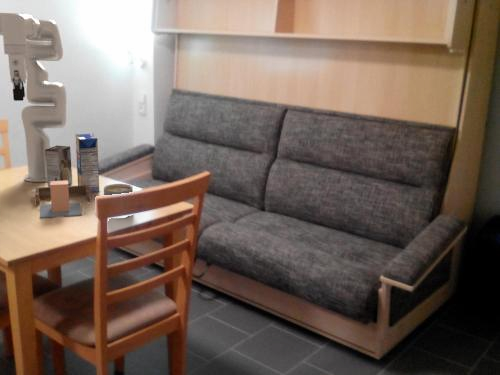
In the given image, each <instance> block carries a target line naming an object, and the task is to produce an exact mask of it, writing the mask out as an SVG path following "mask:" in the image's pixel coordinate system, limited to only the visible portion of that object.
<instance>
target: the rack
mask: <svg viewBox="0 0 500 375" xmlns="http://www.w3.org/2000/svg"><path fill="white" fill-rule="evenodd" d="M68 190H69V198H70V197H71V198H72V197H86V199H85V200H86V203H91V193H90V190H89V185H83V186H78V185H68ZM34 197H35V205H36V206H40V205H41V204H40V203H41V202H40V201H41V199H51V190H50V187H48V186H47V187H46V186H45V187H35V193H34Z"/></svg>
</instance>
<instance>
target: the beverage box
mask: <svg viewBox="0 0 500 375" xmlns="http://www.w3.org/2000/svg"><path fill="white" fill-rule="evenodd" d="M98 147H99V146H98V138H97V137H96V135H95V134H94V133H82V134H81V133H80V134H79V133H78V134H77V133H75V150H76V151H75V152H76V153H75V154H76V155H75V156H76V173H77V186H83V185H89V190H90V194H91V193H93V194H94V193H100V176H99V175H100V174H99V171H100V170H99V152H98V151H99V149H98Z"/></svg>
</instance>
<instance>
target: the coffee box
mask: <svg viewBox="0 0 500 375" xmlns="http://www.w3.org/2000/svg"><path fill="white" fill-rule="evenodd" d="M45 155H46V169H47V181H46V182H47V187H50V181H67V180H68V186H70V185H71V184H72V183H73V172H72V171H73V170H72V169H73V168H72V152H71V146H69V145H55V146H52V147H51V146H50V148H49V149H46V150H45Z"/></svg>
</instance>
